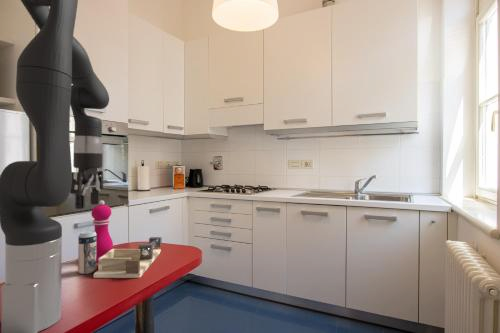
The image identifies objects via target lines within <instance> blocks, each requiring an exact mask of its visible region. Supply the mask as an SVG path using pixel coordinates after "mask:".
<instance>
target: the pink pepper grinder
mask: <svg viewBox="0 0 500 333" xmlns="http://www.w3.org/2000/svg"><path fill="white" fill-rule="evenodd" d="M111 216H112V209H111V207H110V206H109V205H106V204H105V200H99V204H97V205H95V207H93V208H92V210H91V217H92V218H93V220H92V221H93V223H92V225H94V230H93V231H95V232H96V234H97V235H96V263H98V259H99V258H100V257H102V256H103V255H104V254H106V253H107V252H109V251H110V250H111V249H114V242H113V238H112V237H111V234H110V232H109V224H110V220H111V219H110V217H111Z"/></svg>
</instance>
